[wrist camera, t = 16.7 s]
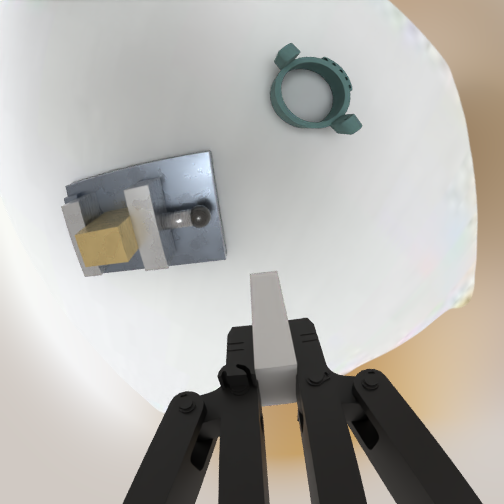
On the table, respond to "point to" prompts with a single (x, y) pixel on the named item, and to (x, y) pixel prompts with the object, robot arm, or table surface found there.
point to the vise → (176, 199)
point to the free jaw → (158, 222)
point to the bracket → (336, 82)
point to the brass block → (108, 239)
